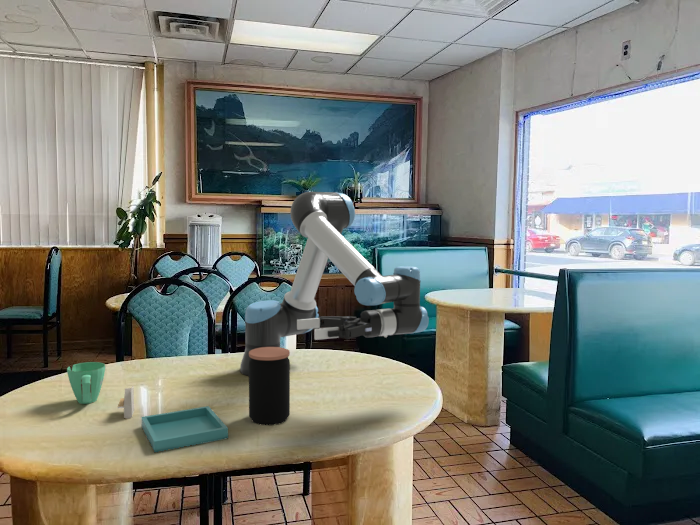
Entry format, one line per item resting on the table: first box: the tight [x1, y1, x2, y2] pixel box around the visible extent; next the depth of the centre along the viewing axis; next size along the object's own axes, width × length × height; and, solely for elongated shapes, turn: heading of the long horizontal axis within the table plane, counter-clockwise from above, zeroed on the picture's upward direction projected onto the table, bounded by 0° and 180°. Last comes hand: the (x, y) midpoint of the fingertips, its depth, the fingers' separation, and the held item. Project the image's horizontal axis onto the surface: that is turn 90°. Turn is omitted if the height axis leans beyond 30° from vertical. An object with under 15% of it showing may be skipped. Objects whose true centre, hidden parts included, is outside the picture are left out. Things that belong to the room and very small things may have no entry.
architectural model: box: [117, 385, 135, 419], centre depth 150 cm, size 3×7×7 cm, turn 15°
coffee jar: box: [248, 346, 291, 426], centre depth 147 cm, size 11×11×18 cm
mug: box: [66, 361, 106, 405], centre depth 157 cm, size 15×10×10 cm
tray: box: [140, 405, 229, 453], centre depth 138 cm, size 17×17×3 cm
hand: (305, 329), depth 150 cm, fingers open, 13 cm apart
